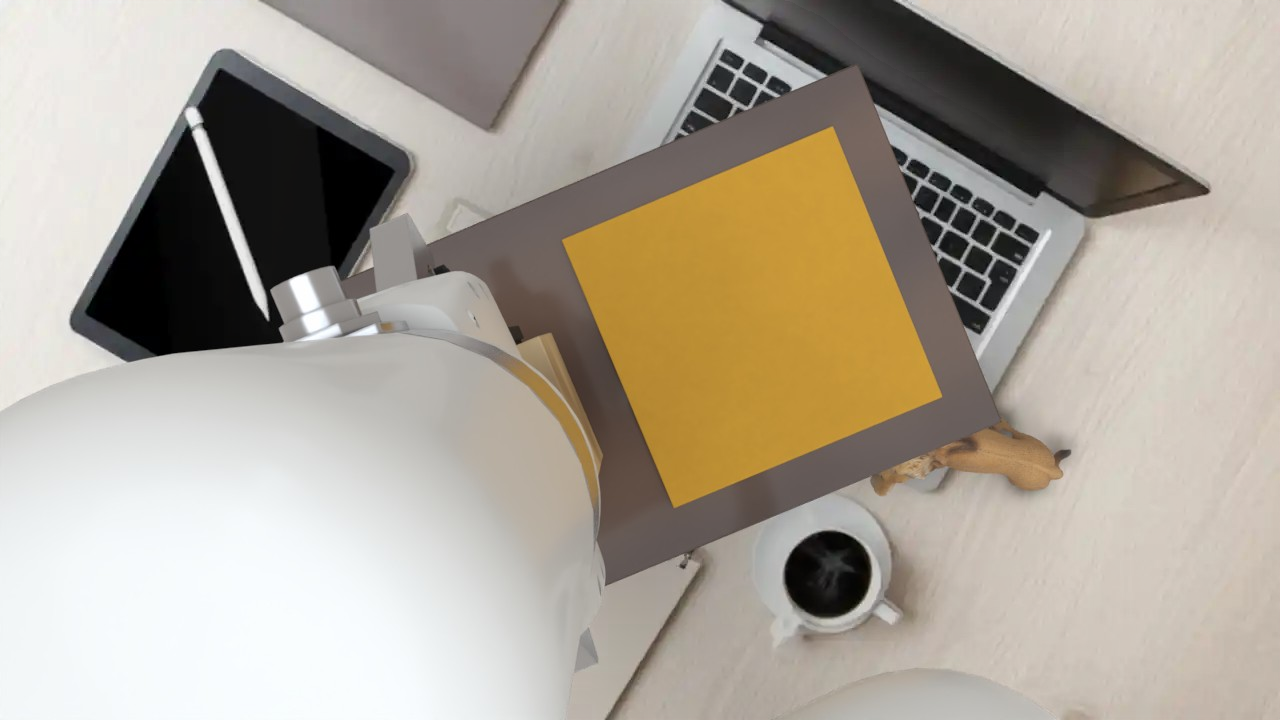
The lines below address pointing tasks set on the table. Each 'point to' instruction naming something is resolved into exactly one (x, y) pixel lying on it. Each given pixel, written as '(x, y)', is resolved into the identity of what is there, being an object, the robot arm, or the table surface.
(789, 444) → the felt cloth
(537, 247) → the walnut stand
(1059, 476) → the lion figurine
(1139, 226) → the table surface
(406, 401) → the robot arm
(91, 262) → the table surface
